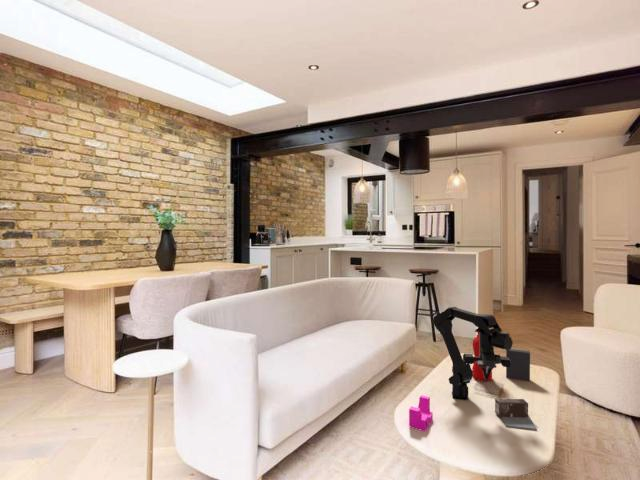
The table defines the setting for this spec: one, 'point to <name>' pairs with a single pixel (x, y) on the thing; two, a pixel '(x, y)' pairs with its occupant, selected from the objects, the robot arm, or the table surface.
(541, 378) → the table surface
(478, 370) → the water bottle
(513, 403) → the box
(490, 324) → the robot arm
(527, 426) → the mat
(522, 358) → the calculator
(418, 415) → the toy block
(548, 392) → the table surface
